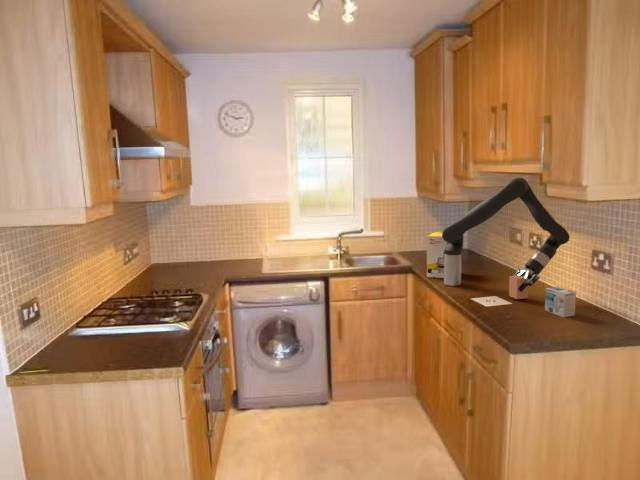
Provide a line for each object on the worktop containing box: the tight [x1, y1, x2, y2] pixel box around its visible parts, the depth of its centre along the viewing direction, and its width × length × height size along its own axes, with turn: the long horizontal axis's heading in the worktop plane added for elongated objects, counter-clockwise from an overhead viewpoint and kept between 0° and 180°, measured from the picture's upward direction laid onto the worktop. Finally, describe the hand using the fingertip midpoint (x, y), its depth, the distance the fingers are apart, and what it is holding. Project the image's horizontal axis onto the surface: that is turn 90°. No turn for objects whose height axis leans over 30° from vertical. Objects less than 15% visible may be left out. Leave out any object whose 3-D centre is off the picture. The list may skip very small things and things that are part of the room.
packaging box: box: [426, 231, 447, 279], centre depth 282 cm, size 16×16×25 cm
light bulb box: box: [544, 285, 577, 318], centre depth 206 cm, size 11×7×11 cm, turn 21°
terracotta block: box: [508, 275, 529, 300], centre depth 227 cm, size 6×6×10 cm
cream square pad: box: [470, 295, 513, 307], centre depth 226 cm, size 14×14×1 cm
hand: (515, 288), depth 226 cm, fingers closed on terracotta block, 6 cm apart
